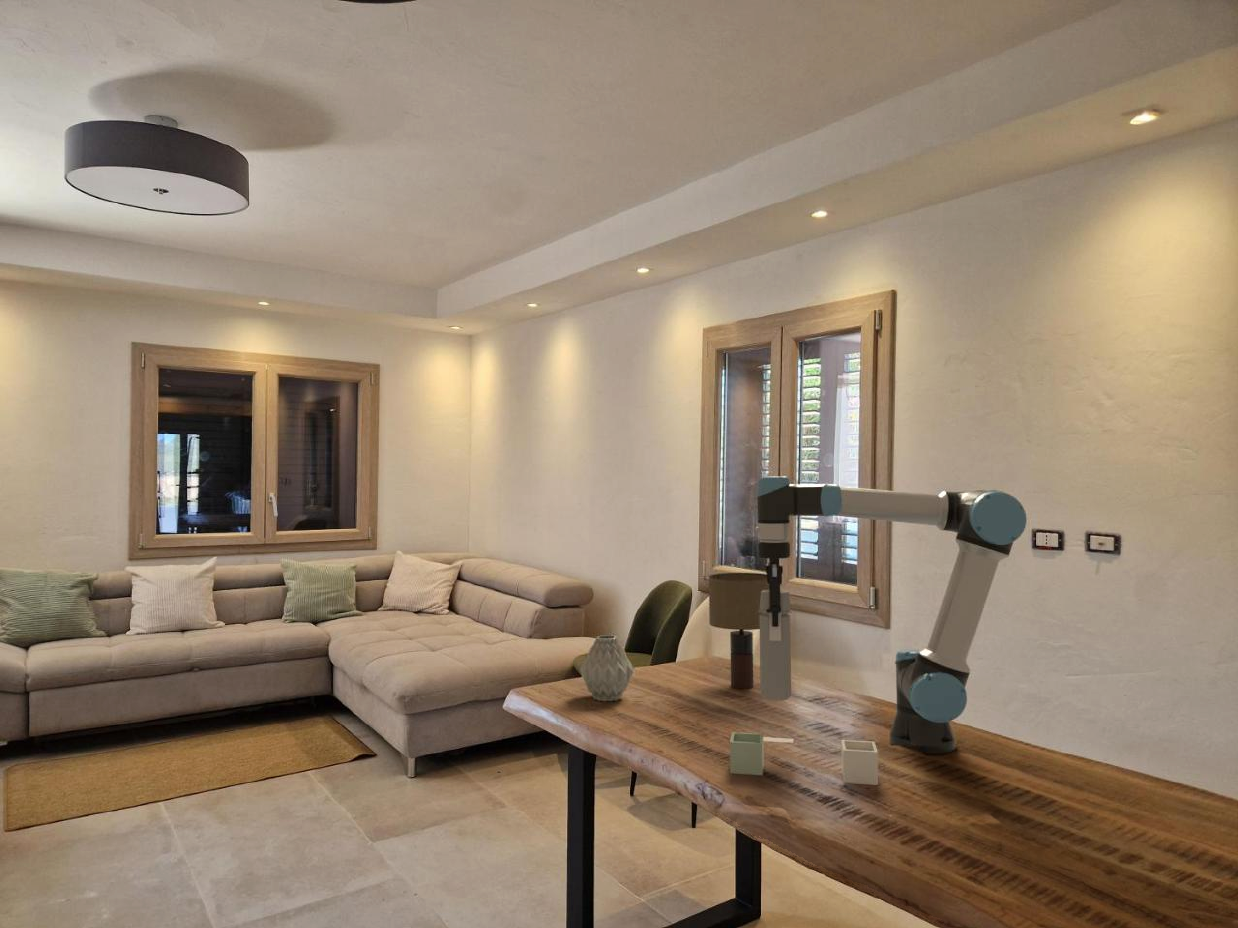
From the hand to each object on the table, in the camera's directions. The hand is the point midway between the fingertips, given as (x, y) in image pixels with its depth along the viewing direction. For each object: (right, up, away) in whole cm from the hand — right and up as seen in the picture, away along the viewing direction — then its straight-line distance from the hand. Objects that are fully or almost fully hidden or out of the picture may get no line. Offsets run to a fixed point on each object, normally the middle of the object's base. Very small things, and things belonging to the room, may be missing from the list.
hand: (775, 636), depth 191 cm
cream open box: (+15, -28, -18) cm, 36 cm away
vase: (-41, -30, +52) cm, 72 cm away
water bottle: (0, -14, 0) cm, 14 cm away
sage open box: (-8, -28, -12) cm, 32 cm away
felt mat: (-2, -28, +5) cm, 29 cm away
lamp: (+2, -30, +64) cm, 70 cm away
